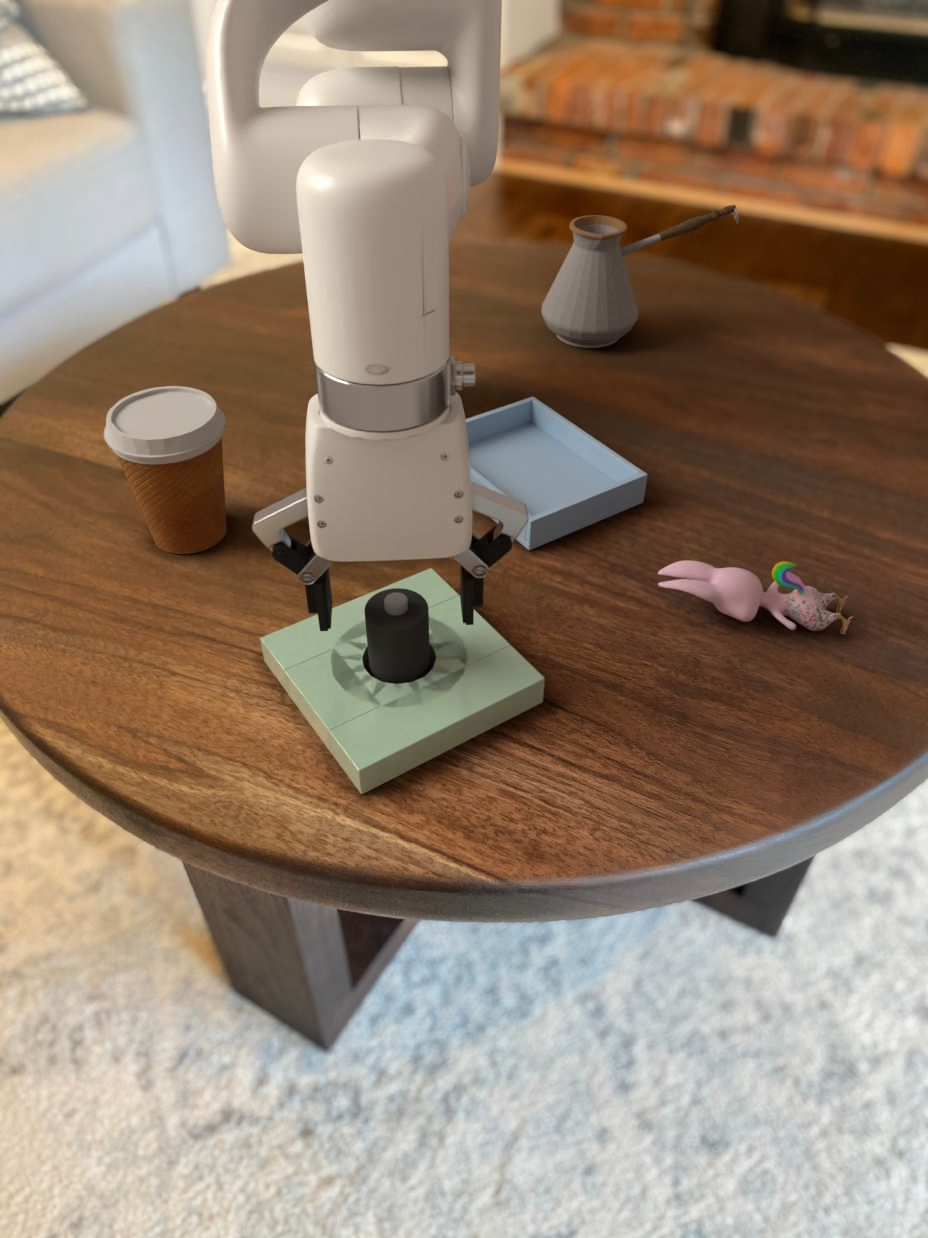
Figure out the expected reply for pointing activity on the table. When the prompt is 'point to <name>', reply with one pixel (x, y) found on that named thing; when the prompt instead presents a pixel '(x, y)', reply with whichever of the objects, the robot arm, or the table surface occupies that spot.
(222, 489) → the disposable coffee cup
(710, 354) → the table surface
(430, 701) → the drain plate
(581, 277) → the coffee pot
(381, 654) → the plug
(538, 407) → the tray
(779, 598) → the rabbit figure
